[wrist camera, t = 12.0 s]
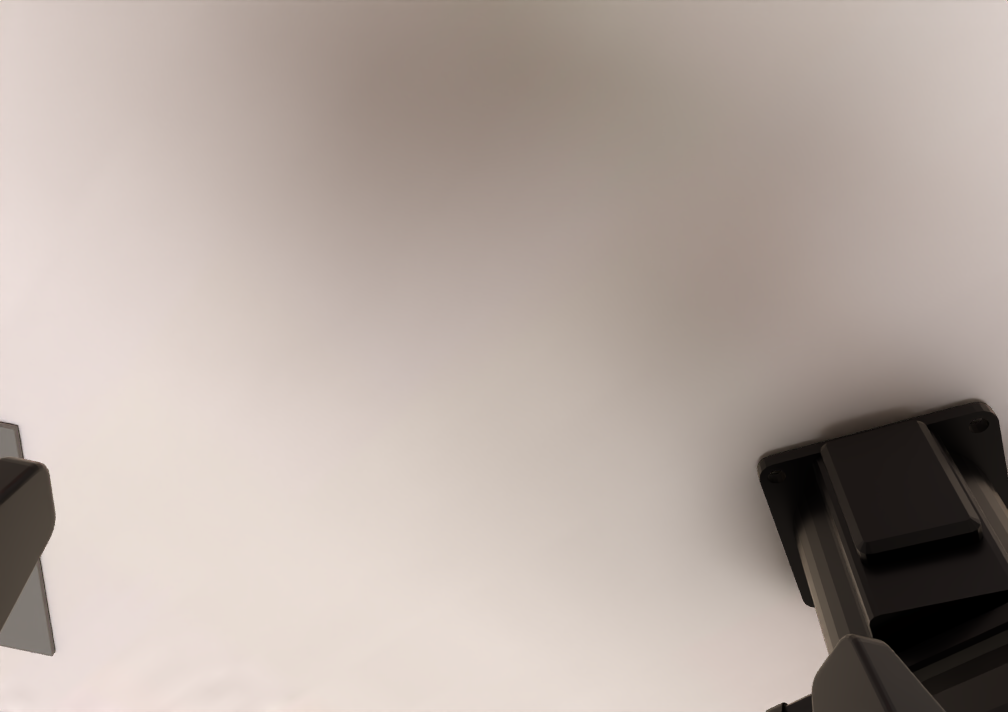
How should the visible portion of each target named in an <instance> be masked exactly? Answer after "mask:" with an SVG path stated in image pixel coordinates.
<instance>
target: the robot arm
mask: <svg viewBox="0 0 1008 712" xmlns="http://www.w3.org/2000/svg"><path fill="white" fill-rule="evenodd" d="M978 418H982V419H981V420H980V421H979V422H977V423H975V424H970V423H971V422H972V421H973V420H976V419H978ZM776 470H780V471H781V472H780V473H778V474H770V473H771V472H773V471H776ZM757 473H758V476H759V480H760V483H761V486H762V489H763V491H764V494H765V497H766V500H767V502H768V505H769V508H770V511H771V513H772V516H773V519H774V522H775V524H776V527H777V530H778V533H779V535H780V538H781V541H782V544H783V546H784V549H785V552H786V555H787V557H788V560H789V563H790V566H791V568H792V571H793V574H794V577H795V579H796V582H797V585H798V588H799V590H800V593H801V596H802V599H803V601H804V602H805V604H806V605H808V606H810V607H814V608H815V609H816V612H817V616H818V619H819V623H820V626H821V629H822V633H823V636H824V640H825V643H826V647H827V650H828V653H829V656H828V658H827V659H826V661H825V662H824V663H823V665H822V666H821V668H820V669H819V671H818V672H817V674H816V676H815V678H814V681H813V686H812V694H810V695H807V696H805V697H803V698H801V699H799V700H797V701H795V702H792V703H790V704H787V703H785V702H784V703H781V704H779V705H777V706H775V707H773V708H770V709H768V710H766V712H1008V475H1007V468H1006V462H1005V456H1004V450H1003V443H1002V437H1001V431H1000V425H999V420H998V418H997V416H996V414H995V413H994V411H993V410H992V409H991V407H990V406H988V405H987V404H985V403H980V402H976V403H969V404H966V405H962V406H958V407H954V408H950V409H947V410H943V411H939V412H935V413H931V414H927V415H924V416H920V417H916V418H912V419H908V420H905V421H901V422H897V423H893V424H889V425H885V426H882V427H878V428H874V429H870V430H866V431H863V432H859V433H855V434H851V435H847V436H844V437H840V438H836V439H832V440H828V441H824V442H821V443H817V444H813V445H809V446H805V447H802V448H798V449H794V450H790V451H786V452H782V453H779V454H775V455H771V456H768V457H766V458H764V459H763V460H761V461H760V462H759V464H758V466H757ZM55 518H56V516H55V507H54V501H53V494H52V487H51V480H50V474H49V470H48V469H47V467H46V466H45V465H44V464H42V463H40V462H36V461H31V460H27V459H22V458H17V457H3V458H0V633H1V631H2V629H3V627H4V625H5V623H6V621H7V619H8V617H9V615H10V614H11V612H12V610H13V608H14V606H15V604H16V602H17V600H18V598H19V596H20V595H21V593H22V591H23V589H24V587H25V585H26V583H27V581H28V579H29V577H30V576H31V574H32V572H33V570H34V568H35V566H36V564H37V562H38V560H39V558H40V557H41V555H42V553H43V551H44V549H45V547H46V545H47V543H48V541H49V539H50V537H51V535H52V532H53V530H54V526H55Z"/></svg>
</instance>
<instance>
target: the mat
mask: <svg viewBox="0 0 1008 712" xmlns="http://www.w3.org/2000/svg"><path fill="white" fill-rule="evenodd" d="M3 457H17V458H22V459H23V456H22V450H21V444H20V438H19V432H18V426H15V425H11V424H6V423H1V422H0V458H3ZM0 646H4V647H9V648H14V649H19V650H24V651H29V652H33V653H38V654H43V655H48V656H53V654H54V653H55V649H54V643H53V637H52V631H51V625H50V619H49V613H48V607H47V601H46V595H45V589H44V583H43V577H42V571H41V565H40V559H39V560H38V562H37V564H36V566H35V568H34V570H33V572H32V574H31V576H30V577H29V579H28V581H27V583H26V585H25V587H24V589H23V591H22V593H21V595H20V596H19V598H18V600H17V602H16V604H15V606H14V608H13V610H12V612H11V614H10V615H9V617H8V619H7V621H6V623H5V625H4V627H3V629H2V631H1V633H0Z"/></svg>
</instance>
